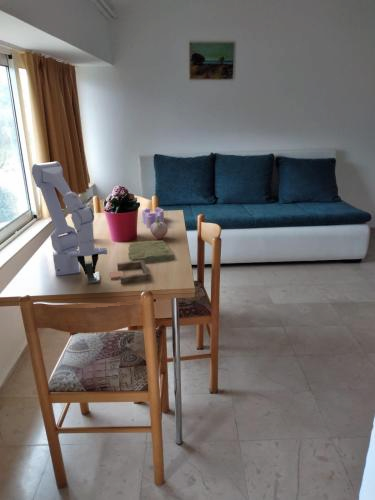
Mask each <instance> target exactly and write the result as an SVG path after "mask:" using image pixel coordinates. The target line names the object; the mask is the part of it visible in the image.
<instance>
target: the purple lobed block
mask: <svg viewBox="0 0 375 500" xmlns="http://www.w3.org/2000/svg"><path fill="white" fill-rule="evenodd" d="M141 214H142V215H141V216H142V224H143V223H144V224H143V225H145V226H146V228H147V229H150V227H151V225H152V224H153V223H154V222H155V221H158V220H159V221H160V222H164V223H165V215H164V214H165V212H164V209H163V208H161V207H158V206H157V207H155V210H154V212H151V208H149V207H146V208H145V209H142V211H141Z"/></svg>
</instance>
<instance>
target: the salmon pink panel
mask: <svg viewBox="0 0 375 500" xmlns="http://www.w3.org/2000/svg"><path fill="white" fill-rule="evenodd" d="M120 276H125V275H124V272H123V270H117V271H111V272H109V277H110V280H111V281H112V280H114V281H115V280H121V278H120Z"/></svg>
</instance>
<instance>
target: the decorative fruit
mask: <svg viewBox="0 0 375 500" xmlns="http://www.w3.org/2000/svg"><path fill="white" fill-rule="evenodd" d="M149 229H150V233H151V234H152V235H153V237H155V238H156V239H157V240H162V238H164V237H165V236H166V235H167V234H168V226H167V224H166V223H165V222H164V223H163V222H160V221H159V220H158V221H155V222H154V223H153V224H152V225H151V227H150V228H149Z"/></svg>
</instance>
